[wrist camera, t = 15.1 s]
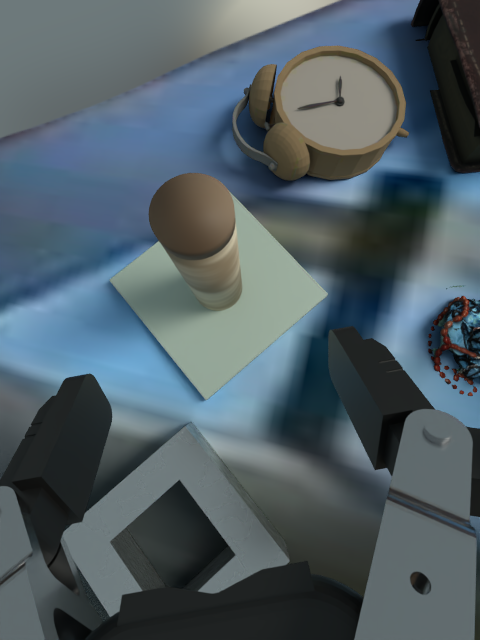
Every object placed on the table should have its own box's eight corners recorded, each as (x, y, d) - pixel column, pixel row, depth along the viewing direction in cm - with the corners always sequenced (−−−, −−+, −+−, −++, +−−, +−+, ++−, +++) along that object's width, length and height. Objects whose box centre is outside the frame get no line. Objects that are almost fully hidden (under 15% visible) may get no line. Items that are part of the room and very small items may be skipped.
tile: (226, 192, 29) (226, 188, 28) (326, 296, 27) (328, 294, 26) (112, 282, 28) (109, 279, 27) (207, 399, 25) (206, 400, 25)
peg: (221, 255, 27) (197, 157, 15) (252, 289, 26) (252, 214, 15) (184, 285, 27) (131, 208, 15) (215, 320, 26) (185, 269, 14)
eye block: (191, 421, 25) (185, 426, 23) (285, 542, 23) (289, 560, 21) (77, 520, 24) (58, 536, 21) (167, 655, 22) (157, 689, 20)
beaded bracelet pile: (571, 382, 23) (534, 342, 19) (464, 412, 27) (419, 384, 24) (513, 299, 28) (476, 255, 24) (431, 336, 32) (389, 303, 29)
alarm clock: (429, 140, 26) (258, 163, 23) (393, 179, 31) (247, 203, 28) (381, 36, 29) (219, 45, 26) (354, 87, 33) (215, 101, 30)
